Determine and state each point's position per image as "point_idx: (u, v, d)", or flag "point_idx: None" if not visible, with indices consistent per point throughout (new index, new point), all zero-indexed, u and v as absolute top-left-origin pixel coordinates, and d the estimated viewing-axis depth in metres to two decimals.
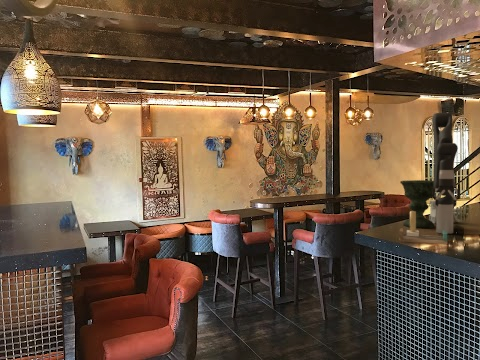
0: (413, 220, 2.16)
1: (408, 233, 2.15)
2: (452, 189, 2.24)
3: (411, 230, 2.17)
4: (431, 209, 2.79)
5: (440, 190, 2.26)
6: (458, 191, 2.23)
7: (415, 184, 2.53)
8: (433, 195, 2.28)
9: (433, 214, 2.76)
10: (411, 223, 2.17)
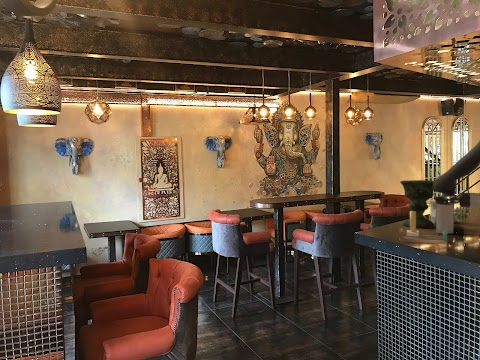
0: (413, 220, 2.16)
1: (408, 233, 2.15)
2: None
3: (411, 230, 2.17)
4: (431, 209, 2.79)
5: None
6: None
7: (415, 184, 2.53)
8: (449, 203, 2.04)
9: (433, 214, 2.76)
10: (411, 223, 2.17)
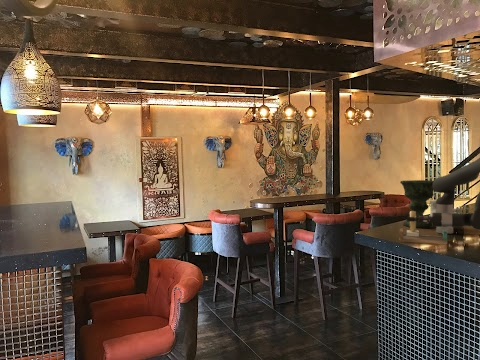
0: None
1: (408, 233, 2.15)
2: None
3: (411, 230, 2.17)
4: (431, 209, 2.79)
5: None
6: None
7: (415, 184, 2.53)
8: (418, 222, 2.12)
9: None
10: (411, 223, 2.17)
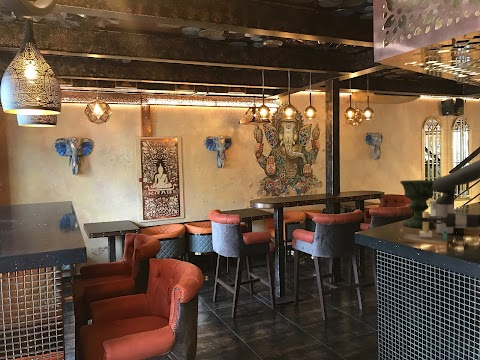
0: None
1: (421, 234, 2.13)
2: None
3: (424, 231, 2.14)
4: (431, 209, 2.79)
5: None
6: None
7: (415, 184, 2.53)
8: (432, 222, 2.09)
9: (433, 214, 2.76)
10: (424, 224, 2.14)
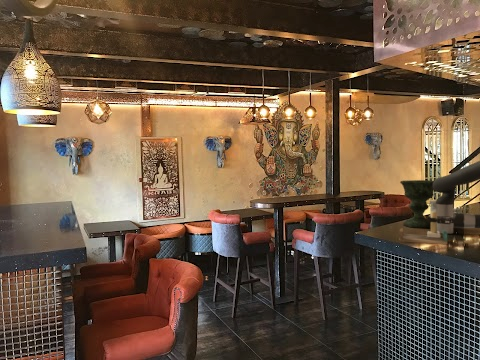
0: None
1: (429, 234, 2.11)
2: None
3: (432, 231, 2.13)
4: (431, 209, 2.79)
5: None
6: None
7: (415, 184, 2.53)
8: None
9: None
10: (432, 224, 2.12)
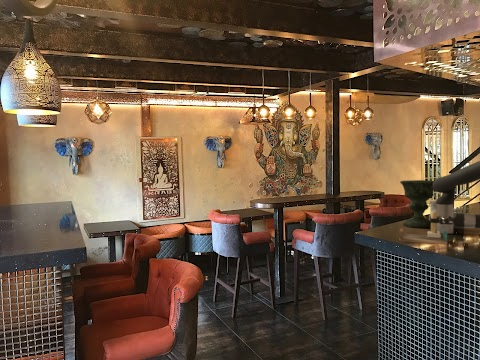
0: None
1: (429, 234, 2.11)
2: None
3: (432, 231, 2.13)
4: (431, 209, 2.79)
5: None
6: None
7: (415, 184, 2.53)
8: (443, 224, 2.06)
9: None
10: (432, 224, 2.12)
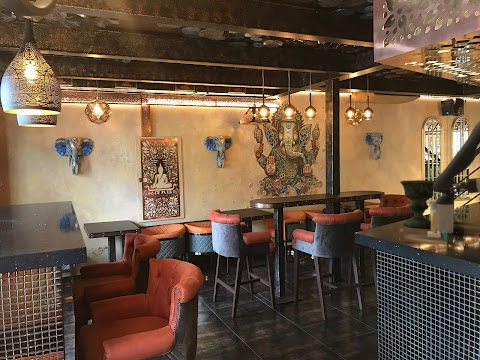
0: (434, 221, 2.12)
1: (429, 234, 2.11)
2: None
3: (432, 231, 2.13)
4: (431, 209, 2.79)
5: None
6: None
7: (415, 184, 2.53)
8: None
9: None
10: (432, 224, 2.12)
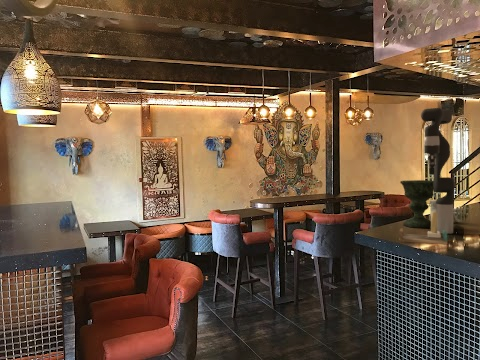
0: (434, 221, 2.12)
1: (429, 234, 2.11)
2: None
3: (432, 231, 2.13)
4: (431, 209, 2.79)
5: None
6: None
7: (415, 184, 2.53)
8: (434, 163, 2.12)
9: None
10: (432, 224, 2.12)
